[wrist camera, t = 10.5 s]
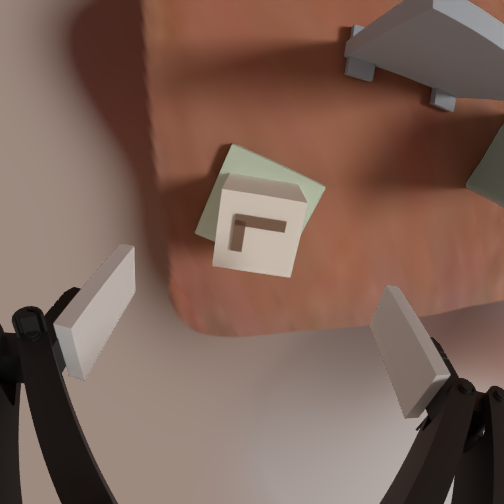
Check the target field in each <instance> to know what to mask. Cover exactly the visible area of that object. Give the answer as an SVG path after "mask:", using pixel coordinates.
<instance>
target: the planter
mask: <svg viewBox="0 0 504 504" xmlns="http://www.w3.org/2000/svg"><path fill="white" fill-rule="evenodd" d="M466 188H467V189H469V190H471V191H473V192H475V193H477V194H479V195H481V196H483V197H485V198H487V199H489V200H491V201H492V202H494V203H496V204H498V205H500V206H502V207H503V208H504V123H503V125H502V126H501V128H500V129H499V131H498V133H497V134H496V136H495V138H494V139H493V141H492V143H491V144H490V146H489V148H488V150H487V151H486V153H485V155H484V156H483V158H482V160H481V161H480V163H479V164H478V166H477V167H476V169H475V170H474V172H473V173H472V175H471V176H470V177H469V179H468V180H467V182H466Z"/></svg>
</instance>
